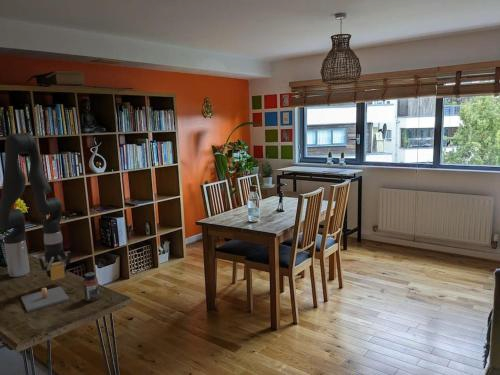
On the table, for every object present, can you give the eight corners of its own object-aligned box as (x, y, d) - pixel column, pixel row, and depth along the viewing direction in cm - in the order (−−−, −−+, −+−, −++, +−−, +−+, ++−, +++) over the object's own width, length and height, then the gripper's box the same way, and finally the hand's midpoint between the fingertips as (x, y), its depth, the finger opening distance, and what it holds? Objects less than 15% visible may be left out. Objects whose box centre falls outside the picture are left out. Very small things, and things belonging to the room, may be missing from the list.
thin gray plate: (21, 298, 170) (19, 288, 170) (60, 288, 180) (59, 278, 179) (27, 312, 158) (25, 300, 157) (69, 300, 168) (68, 289, 167)
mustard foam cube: (49, 276, 184) (47, 264, 183) (62, 273, 188) (60, 261, 187) (51, 280, 180) (50, 268, 179) (65, 277, 183) (63, 265, 182)
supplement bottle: (85, 297, 170) (82, 272, 168) (99, 294, 172) (97, 270, 170) (84, 303, 165) (81, 277, 163) (99, 300, 167) (97, 275, 165)
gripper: (67, 236, 188) (71, 269, 191) (34, 242, 179) (38, 277, 182) (71, 239, 182) (75, 274, 185) (37, 246, 173) (41, 282, 176)
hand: (56, 275), depth 184 cm, fingers closed on mustard foam cube, 5 cm apart
